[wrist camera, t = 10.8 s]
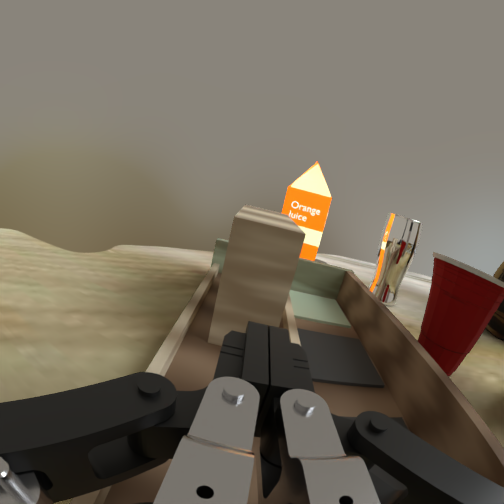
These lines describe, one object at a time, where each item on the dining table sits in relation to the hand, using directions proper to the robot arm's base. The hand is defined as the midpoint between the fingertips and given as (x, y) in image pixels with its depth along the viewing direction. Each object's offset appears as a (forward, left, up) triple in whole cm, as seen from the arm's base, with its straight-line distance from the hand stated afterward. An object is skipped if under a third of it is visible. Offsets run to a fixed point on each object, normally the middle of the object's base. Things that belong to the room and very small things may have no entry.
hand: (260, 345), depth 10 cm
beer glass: (-42, -5, -8) cm, 43 cm away
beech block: (-13, -11, -7) cm, 18 cm away
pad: (-22, -8, -7) cm, 25 cm away
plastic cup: (-25, +8, -8) cm, 28 cm away
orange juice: (-37, -22, -8) cm, 43 cm away
